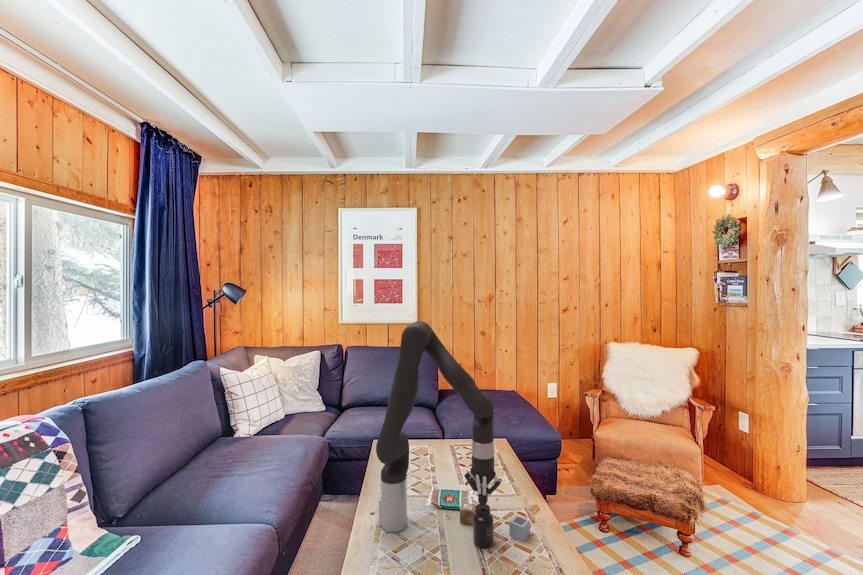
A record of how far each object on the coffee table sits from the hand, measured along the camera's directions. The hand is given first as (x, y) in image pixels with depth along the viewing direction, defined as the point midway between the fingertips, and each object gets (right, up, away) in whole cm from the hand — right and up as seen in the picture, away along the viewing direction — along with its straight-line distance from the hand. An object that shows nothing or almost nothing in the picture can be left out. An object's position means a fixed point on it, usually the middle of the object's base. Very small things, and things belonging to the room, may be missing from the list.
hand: (483, 504), depth 133 cm
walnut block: (-4, -13, +12) cm, 18 cm away
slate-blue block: (+13, -13, +4) cm, 19 cm away
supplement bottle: (0, -13, 0) cm, 13 cm away
